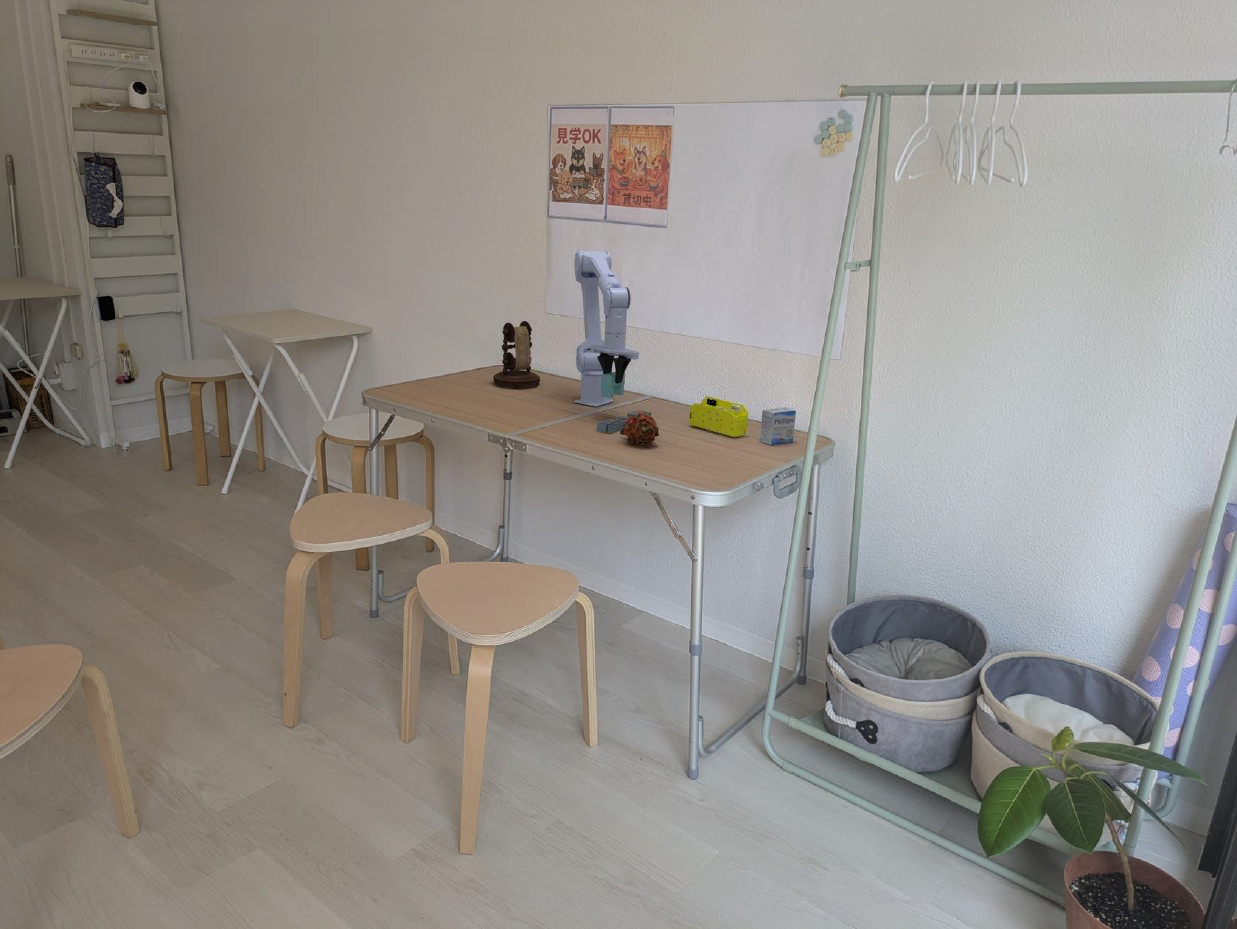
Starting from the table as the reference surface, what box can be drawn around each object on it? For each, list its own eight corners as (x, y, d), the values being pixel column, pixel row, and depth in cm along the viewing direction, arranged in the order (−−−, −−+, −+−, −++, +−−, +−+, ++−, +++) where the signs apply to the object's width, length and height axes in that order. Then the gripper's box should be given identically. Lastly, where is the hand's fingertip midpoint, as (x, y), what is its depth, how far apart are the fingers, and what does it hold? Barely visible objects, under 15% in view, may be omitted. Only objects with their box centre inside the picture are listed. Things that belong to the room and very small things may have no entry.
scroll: (513, 392, 282) (514, 326, 276) (483, 383, 291) (483, 320, 285) (549, 385, 292) (550, 323, 286) (519, 377, 302) (520, 316, 296)
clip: (615, 392, 256) (616, 371, 255) (624, 394, 255) (625, 373, 253) (600, 396, 251) (601, 374, 249) (609, 398, 249) (610, 376, 247)
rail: (638, 417, 258) (638, 409, 257) (650, 420, 256) (651, 412, 255) (596, 431, 242) (597, 422, 241) (609, 433, 240) (610, 425, 239)
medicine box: (770, 445, 236) (773, 413, 233) (759, 441, 240) (762, 409, 237) (793, 442, 240) (796, 410, 237) (781, 438, 244) (785, 406, 241)
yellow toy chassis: (747, 436, 244) (749, 406, 241) (733, 440, 240) (736, 409, 238) (701, 424, 255) (703, 394, 252) (687, 427, 251) (690, 397, 248)
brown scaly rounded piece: (651, 456, 227) (625, 450, 238) (673, 433, 230) (647, 429, 240) (633, 431, 224) (607, 426, 234) (656, 408, 226) (630, 404, 236)
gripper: (584, 330, 248) (583, 380, 252) (629, 337, 241) (626, 388, 245) (600, 328, 254) (598, 376, 258) (643, 334, 246) (641, 384, 250)
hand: (613, 381), depth 252 cm, fingers closed on clip, 3 cm apart
